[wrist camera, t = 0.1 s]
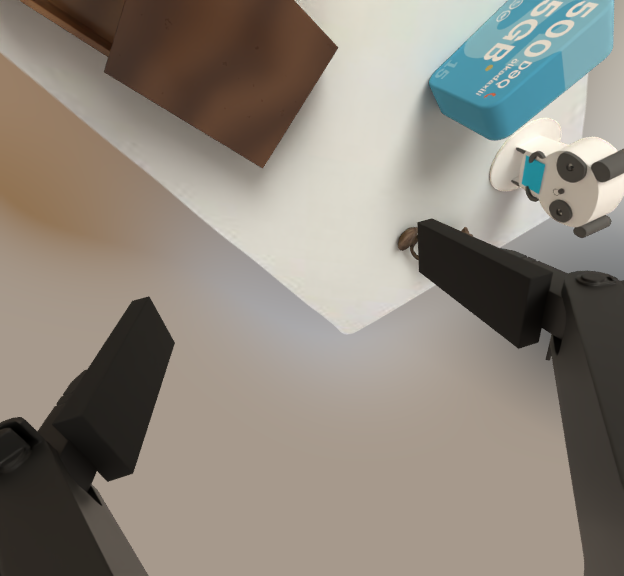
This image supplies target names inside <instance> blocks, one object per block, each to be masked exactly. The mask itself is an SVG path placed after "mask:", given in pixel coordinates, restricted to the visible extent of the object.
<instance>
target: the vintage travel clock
mask: <svg viewBox="0 0 624 576" xmlns="http://www.w3.org/2000/svg"><path fill="white" fill-rule="evenodd" d="M461 232H464V233H466V234H468V235H470V236H473V235H472V234H469V231H468V229H467V227H464V228H463V230H462V231H461ZM417 233H418V228H417V227H411V228H408V229H407V230H406V231H404V232H403V234H402V235H401V236H400V239H399V242H398V248H399V250H402V251H403V250H405V249H407V248H408V247H409V246H410V251H411V254H412V255H413V257H414V258H416V259H417V260H419V256H418V255H416V253H415V252H414V250H413V248H414V246H415V244H416V243H417V242H418V235H417Z"/></svg>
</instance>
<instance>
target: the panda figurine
mask: <svg viewBox="0 0 624 576" xmlns="http://www.w3.org/2000/svg"><path fill="white" fill-rule="evenodd" d="M560 140H561V127H560V125H559V124H558V122H557V121H555V120H553V119H550V118H541V119H537V120H534V121H532V122H530V123H528V124H526V125H524V126H523V127H521V128H520V129H519V130H517V131H516V132H515V133H514V134H513V135H512V136H511V137H510V138H509V139H508V140H507V141H506V142H505V143H504V144H503V146H502V147H501V148H500V150H499V151H498V153H497V155H496V156H495V158H494V161H493V163H492V166H491V169H490V182H491V184H492V186H493V187H494V188H496V189H497V190H499V191H512V190H515V189H517V188H520V187H521V188H522V189H524V190H526V194H527V196H528V198H529V199H530V200H531V201H534V202H536V201H538V200H539V201H540V204H541V206H542V207H543V209H544V210H545V211H546V213H547V214H548V215H549V216H550V217H551V218H553V219H554V220H556V221H557V222H559V223H562V224H564V225H567V226H570V227H575V228H574V230H573V231H574V234H575V235H577V236H578V237H580V238H584V237H586V236H589V235H591V234H593V233H595V232H597V231H599V230H602V229H604V228H606V227H608V226H610V224H611V219H610V217H608V216H606V214H608V213H610V212H612V211H613V210H614V209H615V208H616V207H617V206H618V204H619V203H620V201H621V199H622V198H623V196H624V149H622V150H620V151H617V150H616V149H615V148H614V147H613V146H612V145H611V144H610V143H608V142H607V141H605V140H603V139H601V138H598V137H587V138H583V139H580V140H578V141H576V142H574V143H572V144H570V145H567V144H564V143H561V142H560ZM534 196H535V197H534Z"/></svg>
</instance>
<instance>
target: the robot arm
mask: <svg viewBox="0 0 624 576" xmlns="http://www.w3.org/2000/svg"><path fill="white" fill-rule="evenodd" d="M417 225H418V254H419V272H420V273H421V274H423V275H424V276H425V277H427V278H428V279H429V280H430V281H432V282H433V283H434V284H436V285H437V286H438V287H439V288H441V289H442V290H443V291H445V292H446V293H447V294H449V295H450V296H451V297H452V298H454V299H455V300H456V301H458V302H459V303H460V304H461V305H463V306H464V307H465V308H467V309H468V310H469V311H470V312H472V313H473V314H474V315H476V316H477V317H478V318H480V319H481V320H482V321H483V322H485V323H486V324H487V325H489V326H490V327H491V328H492V329H494V330H495V331H496V332H498V333H499V334H500V335H502V336H503V337H504V338H506V339H507V340H508V341H509V342H511V343H512V344H513V345H514V346H516V347H517V348H522V347H525V346H528V345H532V344H535V343H538V342H539V337H540V333H541V328H543V329H545V330H546V331H548V332H549V333H551V334H552V335H551V339H550V343H549V348H548V352H547V356H546V360H550V358H551V356H552V361H553V367H554V374H555V380H556V386H557V392H558V398H559V405H560V411H561V417H562V423H563V429H564V436H565V442H566V448H567V454H568V460H569V467H570V473H571V479H572V485H573V492H574V497H575V504H576V510H577V517H578V522H579V529H580V535H581V541H582V547H583V554H584V576H624V280H623V281H619V280H618V279H617V278H616V277H613V276H611V275H609V274H605V273H601V272H595V271H576V272H571V273H569V274H568V273H565V272H563V271H561V270H558V269H556V268H554V267H551V266H549V265H547V264H544V263H542V262H540V261H536V260H535V259H533V258H530V257H527V256H526V255H523V254H521V253H519V252H516V251H512V250H507V249H502V248H498V247H495V246H493V245H491V244H488V243H486V242H484V241H482V240H479V239H477V238H475V237H473V236H470V235H468V234H466V233H464V232H461V231H459V230H457V229H454V228H452V227H450V226H448V225H445V224H443V223H441V222H439V221H436V220H434V219H428V220H425V221H421V222H417ZM174 344H175V342H174V341H173V339H172V337H171V335H170V333H169V332H168V330H167V328H166V326H165V324H164V322H163V321H162V319H161V317H160V315H159V313H158V312H157V310H156V308H155V306H154V304H153V302H152V301H151V299H150V297H146V298H142V299H138V300H134V301H132V302H131V304H130V305H129V307H128V308H127V310H126V311H125V313H124V314H123V316H122V318H121V319H120V321H119V322H118V324H117V325H116V327H115V328H114V330H113V331H112V333H111V334H110V336H109V338H108V339H107V341H106V342H105V343H104V345H103V347H102V348H101V350H100V351H99V353H98V354H97V356H96V357H95V359H94V360H93V362H92V363H91V365H90V366H89V368H88V370H84V371H83V372H82V373H81V374H80V375H79V376H78V377H76V378H75V379H74V380H73V381H72V382H71V383H70V385H69V386H68V388H67V389H66V391H65V392H64V394H63V396H62V397H61V398H60V399H59V401H58V402H57V406H55V407H54V408H53V410H52V411H51V413H50V414H49V415H48V417H47V418H46V420H45V421H44V423H43V424H42V426H41V427H40V429H39V430H38V432H37V431H36V430H35V429H34V428H33V427H32V426H31V425H30V424H29V423H28V422H27V421H26V420H24V419H23V418H22V417H17V418H11V419H9V420H6V421H3V422H1V423H0V576H148V574H147V572H146V571H145V569H144V567H143V566H142V564H141V562H140V561H139V559H138V557H137V556H136V554H135V552H134V551H133V549H132V547H131V545H130V544H129V542H128V540H127V539H126V537H125V536H124V534H123V532H122V530H121V529H120V527H119V525H118V524H117V522H116V520H115V519H114V517H113V515H112V514H111V512H110V510H109V509H108V507H107V505H106V503H105V502H104V500H103V499H102V497H101V495H100V493H99V492H98V490H97V489H96V488H95V487H94V486H93V485H92V481H93V479H94V476H95V474H96V472H97V471H98V472H99V473H100V474H101V475H102V477H103V478H104V479H105V480H107V481H111V480H114V479H117V478H121V477H124V476H127V475H130V474H133V472H134V469H135V466H136V463H137V459H138V456H139V453H140V450H141V447H142V444H143V441H144V437H145V434H146V431H147V428H148V425H149V422H150V419H151V416H152V413H153V409H154V406H155V403H156V400H157V397H158V394H159V391H160V388H161V384H162V381H163V378H164V375H165V372H166V369H167V366H168V362H169V359H170V356H171V353H172V350H173V347H174Z"/></svg>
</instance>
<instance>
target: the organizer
mask: <svg viewBox="0 0 624 576" xmlns="http://www.w3.org/2000/svg"><path fill="white" fill-rule="evenodd" d="M337 49H338V47H337V46H336V45H335V43H334V42H333V41H332V40H331V39H330V38H329V37H328V36H327V35H326V34H325V33H324V32H323V31H322V30H321V29H320V27H319V26H318V25H317V24H316V23H315V22H314V21H313V20H312V19H311V18H310V17H309V16H308V15H307V14H306V13H305V11H304V10H303V9H302V8H301V7H300V6H299V5H298V4H297V3H296V2H295V1H294V0H125V2H124V5H123V9H122V12H121V16H120V19H119V22H118V26H117V29H116V33H115V36H114V40H113V43H112V46H111V50H110V53H109V57H108V60H107V64H106V67H105V70H104V72H105V73H106V74H108V75H110V76H111V77H113V78H115V79H116V80H118V81H120V82H121V83H123V84H124V85H126V86H128V87H129V88H131V89H133V90H134V91H136V92H138V93H139V94H141V95H143V96H144V97H146V98H148V99H149V100H151V101H152V102H154V103H156V104H157V105H159V106H161V107H162V108H164V109H166V110H167V111H169V112H171V113H172V114H174V115H176V116H177V117H179V118H180V119H182V120H184V121H185V122H187V123H189V124H190V125H192V126H194V127H195V128H197V129H199V130H200V131H202V132H204V133H205V134H207V135H208V136H210V137H212V138H213V139H215V140H217V141H218V142H220V143H222V144H223V145H225V146H227V147H228V148H230V149H232V150H233V151H235V152H236V153H238V154H240V155H241V156H243V157H245V158H246V159H248V160H250V161H251V162H253V163H255V164H256V165H258V166H260V167H261V168H263V167H264V166H265V164H266V163H267V161H268V159H269V158H270V156H271V155H272V153H273V151H274V150H275V148H276V147H277V145H278V143H279V142H280V140H281V139H282V137H283V135H284V134H285V132H286V131H287V129H288V127H289V126H290V124H291V123H292V121H293V119H294V118H295V116H296V115H297V113H298V111H299V110H300V108H301V107H302V105H303V103H304V102H305V100H306V99H307V97H308V95H309V94H310V92H311V91H312V89H313V87H314V86H315V84H316V83H317V81H318V79H319V78H320V76H321V75H322V73H323V71H324V70H325V68H326V67H327V65H328V63H329V62H330V60H331V59H332V57H333V55H334V54H335V52H336V51H337Z"/></svg>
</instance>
